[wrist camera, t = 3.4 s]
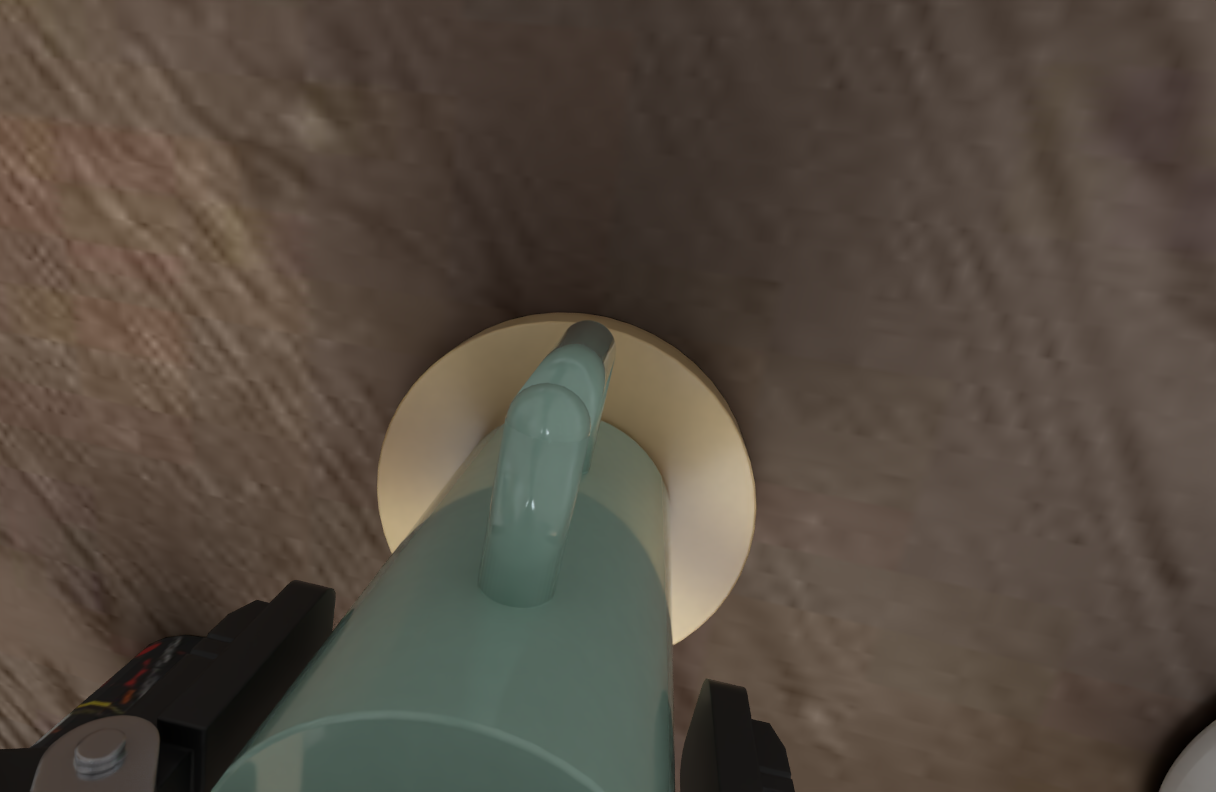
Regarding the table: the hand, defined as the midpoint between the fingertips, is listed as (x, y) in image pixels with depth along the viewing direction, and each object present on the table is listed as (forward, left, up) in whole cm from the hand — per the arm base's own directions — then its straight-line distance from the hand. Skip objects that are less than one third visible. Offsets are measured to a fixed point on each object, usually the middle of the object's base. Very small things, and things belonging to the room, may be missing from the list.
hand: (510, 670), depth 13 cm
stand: (0, 0, -8) cm, 8 cm away
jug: (0, +1, -6) cm, 7 cm away
